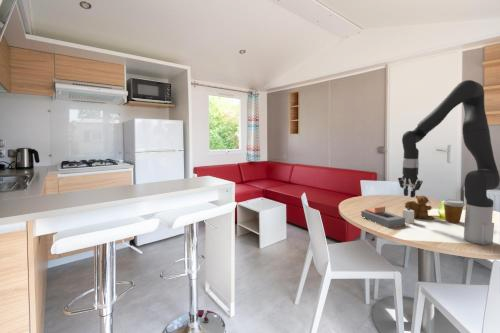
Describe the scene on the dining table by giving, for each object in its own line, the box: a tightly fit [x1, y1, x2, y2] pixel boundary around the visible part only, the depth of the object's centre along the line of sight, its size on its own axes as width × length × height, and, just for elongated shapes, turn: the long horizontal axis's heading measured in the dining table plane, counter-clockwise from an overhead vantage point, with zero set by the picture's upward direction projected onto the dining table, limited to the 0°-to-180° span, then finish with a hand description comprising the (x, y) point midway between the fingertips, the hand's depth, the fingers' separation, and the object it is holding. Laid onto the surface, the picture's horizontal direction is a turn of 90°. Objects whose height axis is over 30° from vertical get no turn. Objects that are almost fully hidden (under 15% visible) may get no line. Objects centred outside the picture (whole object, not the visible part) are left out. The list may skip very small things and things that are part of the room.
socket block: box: [360, 209, 406, 229], centre depth 147 cm, size 20×12×4 cm, turn 18°
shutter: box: [364, 206, 386, 214], centre depth 152 cm, size 8×7×4 cm
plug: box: [402, 208, 415, 224], centre depth 144 cm, size 4×4×8 cm
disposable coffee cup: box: [442, 198, 466, 224], centre depth 143 cm, size 10×10×12 cm
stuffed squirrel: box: [404, 195, 435, 220], centre depth 152 cm, size 10×14×13 cm
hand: (409, 196), depth 143 cm, fingers open, 3 cm apart
